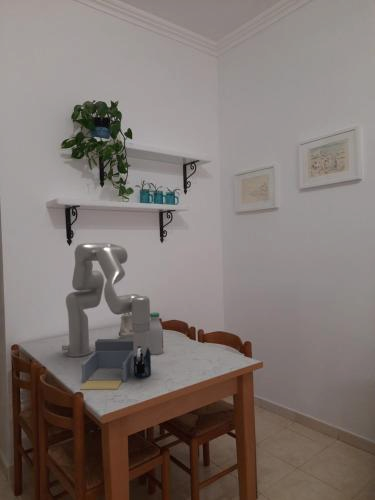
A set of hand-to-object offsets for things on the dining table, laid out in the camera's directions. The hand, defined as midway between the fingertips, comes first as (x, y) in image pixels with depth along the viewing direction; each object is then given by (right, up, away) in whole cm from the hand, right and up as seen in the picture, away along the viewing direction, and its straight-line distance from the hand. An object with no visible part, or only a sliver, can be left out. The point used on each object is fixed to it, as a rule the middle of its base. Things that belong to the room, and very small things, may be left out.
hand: (142, 369), depth 146 cm
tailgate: (-14, -3, -6) cm, 16 cm away
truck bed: (-14, -3, +5) cm, 15 cm away
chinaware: (-14, -3, +62) cm, 64 cm away
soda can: (0, -3, 0) cm, 3 cm away
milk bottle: (+3, -3, +33) cm, 33 cm away
